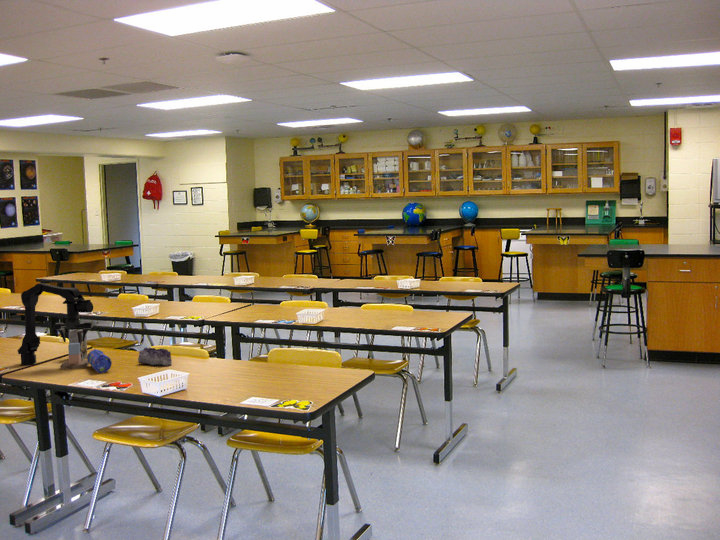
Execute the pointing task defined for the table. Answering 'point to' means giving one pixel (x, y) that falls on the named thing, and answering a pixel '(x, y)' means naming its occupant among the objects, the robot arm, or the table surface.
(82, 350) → the coffee box
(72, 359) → the terracotta block
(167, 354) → the geode
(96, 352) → the pencil case
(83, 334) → the robot arm
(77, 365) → the plinth
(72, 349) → the slate block
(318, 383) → the table surface
